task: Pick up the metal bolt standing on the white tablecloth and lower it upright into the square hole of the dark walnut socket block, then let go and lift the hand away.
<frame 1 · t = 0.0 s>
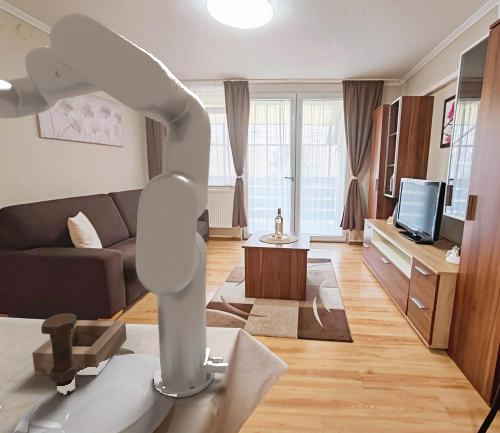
bolt: (66, 391, 57), on the table
socket block: (85, 355, 68), on the table
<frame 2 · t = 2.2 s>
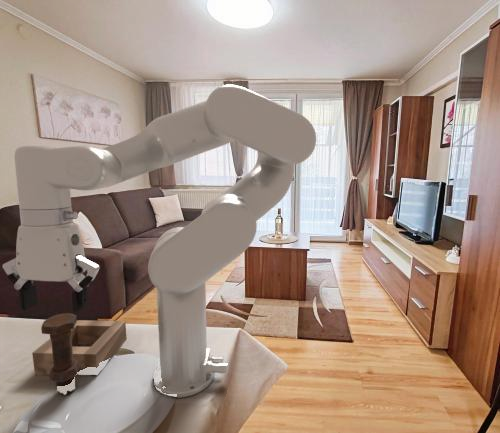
hand: (54, 308, 54), 17 cm above the table, tool pointing down, fingers open, 9 cm apart
nothing on the table moved.
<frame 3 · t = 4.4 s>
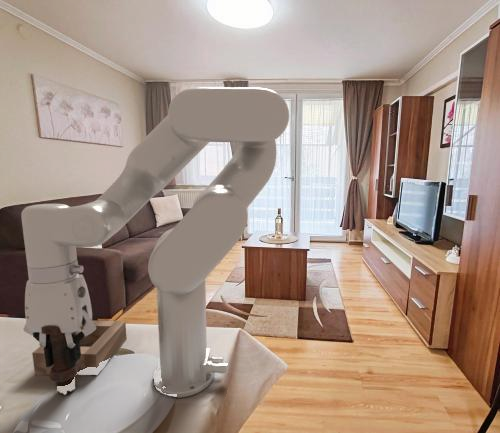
hand: (63, 361, 56), 6 cm above the table, tool pointing down, fingers closed on bolt, 3 cm apart
bolt: (66, 391, 57), on the table, touching gripper
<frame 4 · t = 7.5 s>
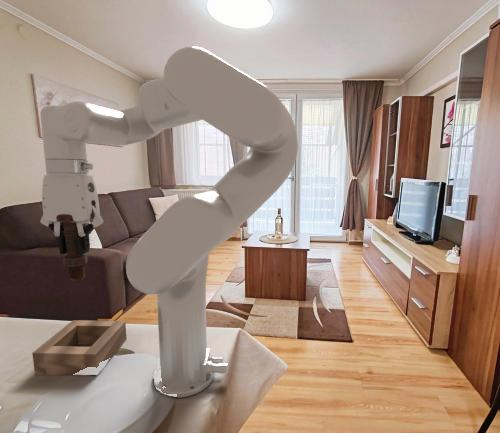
hand: (74, 252, 64), 25 cm above the table, tool pointing down, fingers closed on bolt, 3 cm apart
bolt: (77, 279, 65), point 18 cm above the table, touching gripper
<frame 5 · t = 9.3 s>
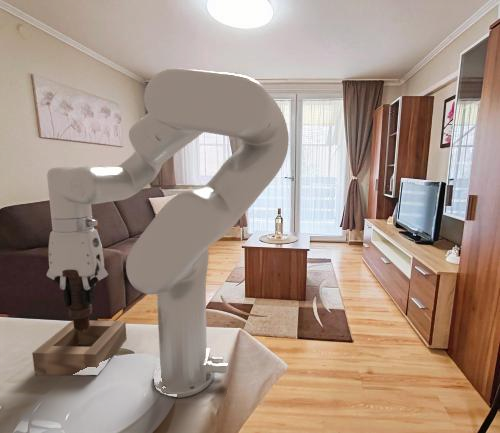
hand: (80, 303, 66), 13 cm above the table, tool pointing down, fingers closed on bolt, 3 cm apart
bolt: (82, 329, 67), point 6 cm above the table, touching gripper
when the fingers open (7 cm above the table, at t = 10.8 s): bolt stays where it is, resting in socket block.
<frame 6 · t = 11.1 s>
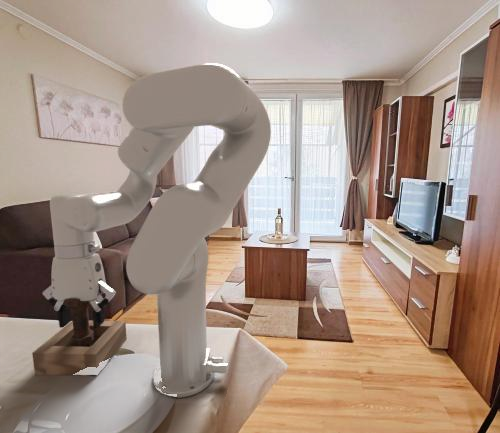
hand: (82, 324, 67), 8 cm above the table, tool pointing down, fingers open, 7 cm apart
bolt: (84, 356, 68), resting in socket block
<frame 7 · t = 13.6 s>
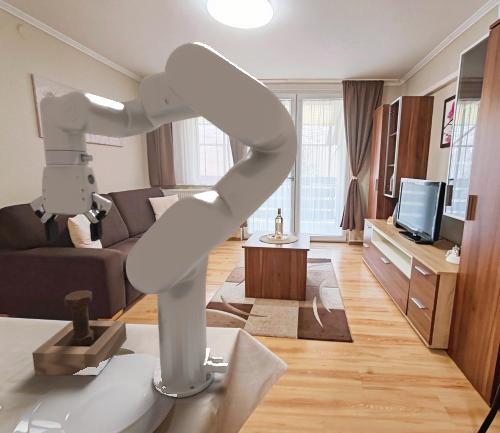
hand: (74, 239, 63), 28 cm above the table, tool pointing down, fingers open, 9 cm apart
nothing on the table moved.
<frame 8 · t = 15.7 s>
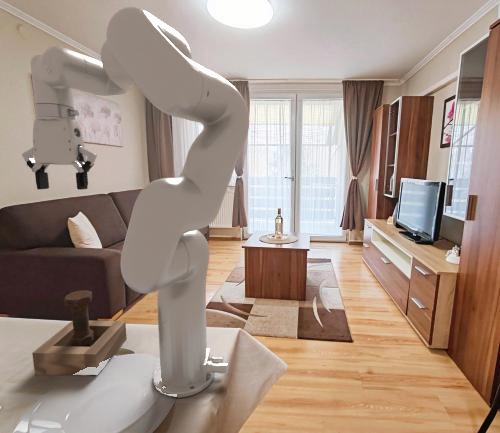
hand: (62, 189, 70), 38 cm above the table, tool pointing down, fingers open, 9 cm apart
nothing on the table moved.
at the end: bolt 0.2 cm from the socket block (horizontally); bolt tilted 0°; the gripper is holding nothing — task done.
